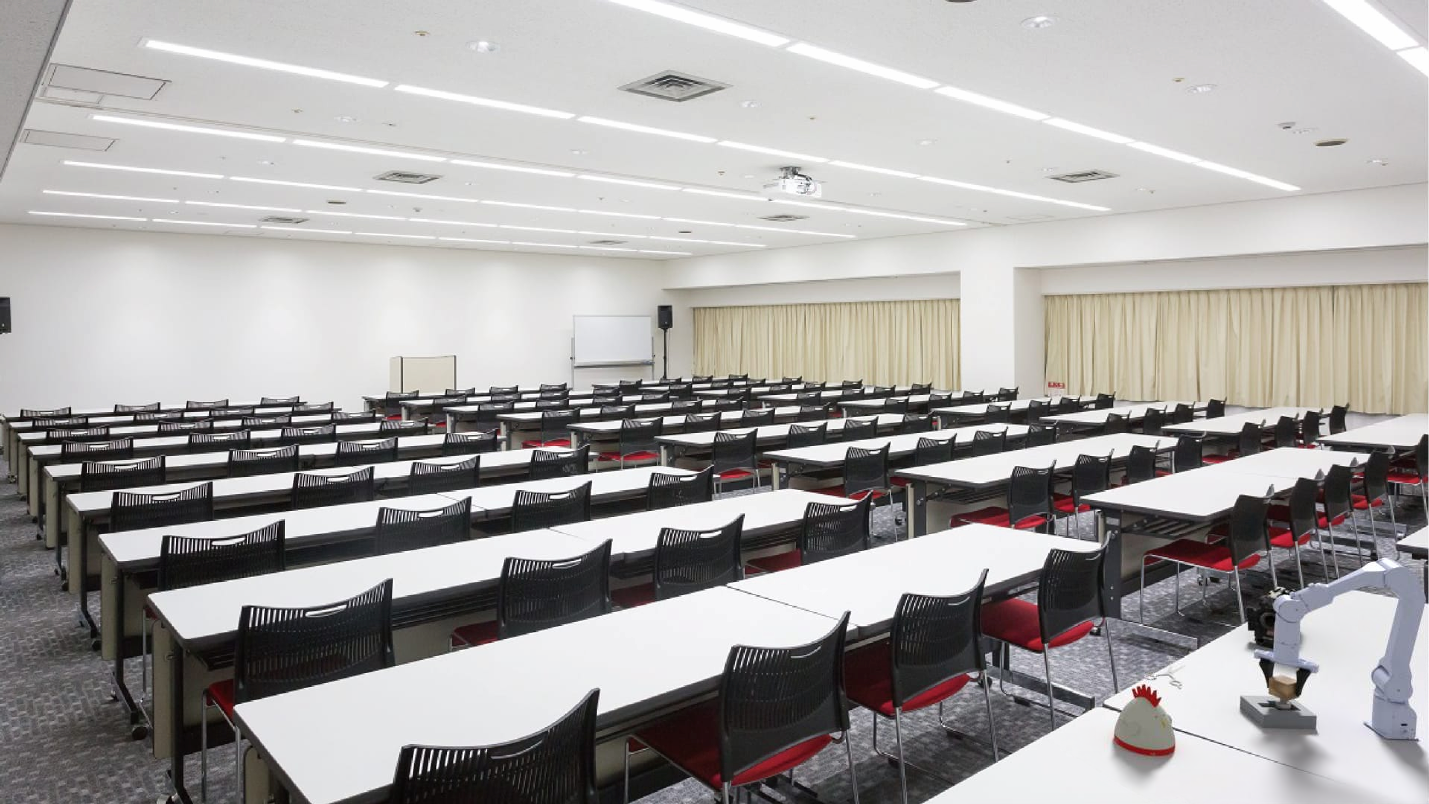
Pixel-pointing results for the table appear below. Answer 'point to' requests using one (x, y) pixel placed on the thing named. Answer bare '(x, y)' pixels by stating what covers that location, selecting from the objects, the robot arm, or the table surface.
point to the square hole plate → (1277, 713)
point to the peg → (1283, 690)
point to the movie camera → (1265, 616)
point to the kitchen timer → (1145, 725)
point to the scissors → (1169, 675)
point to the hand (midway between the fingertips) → (1284, 691)
